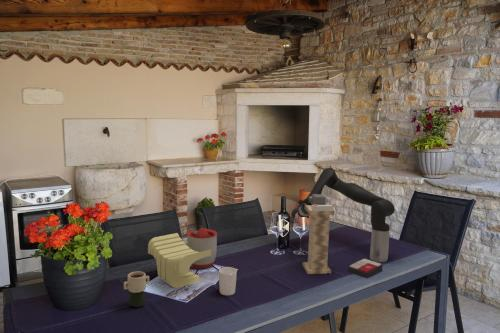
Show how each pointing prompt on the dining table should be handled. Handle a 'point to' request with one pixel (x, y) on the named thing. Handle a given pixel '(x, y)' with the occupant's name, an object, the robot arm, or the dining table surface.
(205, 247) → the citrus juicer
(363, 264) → the black red flat box
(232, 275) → the white cup
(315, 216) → the pedestal column stand
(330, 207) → the power strip
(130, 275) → the character mug
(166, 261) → the slatted curved stool
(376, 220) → the robot arm
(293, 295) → the dining table surface
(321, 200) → the charger
